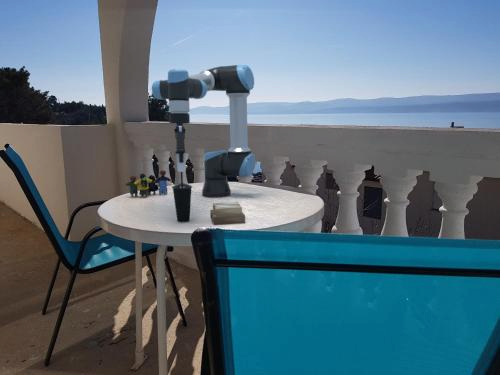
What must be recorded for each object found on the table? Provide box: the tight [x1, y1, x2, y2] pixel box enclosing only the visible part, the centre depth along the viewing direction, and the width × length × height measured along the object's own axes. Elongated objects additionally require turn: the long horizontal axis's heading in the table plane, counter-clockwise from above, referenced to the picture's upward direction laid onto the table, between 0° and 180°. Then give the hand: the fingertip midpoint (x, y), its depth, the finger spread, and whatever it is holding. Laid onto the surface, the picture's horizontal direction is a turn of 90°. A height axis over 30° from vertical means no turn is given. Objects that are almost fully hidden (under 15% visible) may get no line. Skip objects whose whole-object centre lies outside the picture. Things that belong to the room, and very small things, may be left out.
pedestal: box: [209, 201, 246, 226], centre depth 146 cm, size 12×12×6 cm
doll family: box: [125, 169, 173, 199], centre depth 192 cm, size 23×9×13 cm, turn 132°
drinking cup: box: [171, 172, 193, 223], centre depth 144 cm, size 8×8×20 cm
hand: (181, 169), depth 142 cm, fingers open, 13 cm apart
